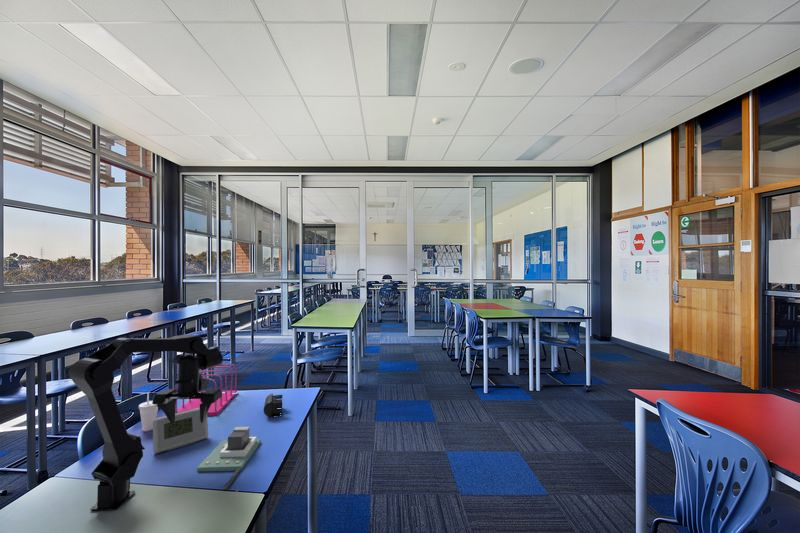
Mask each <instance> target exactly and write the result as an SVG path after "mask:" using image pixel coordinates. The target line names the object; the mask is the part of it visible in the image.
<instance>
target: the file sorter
mask: <svg viewBox="0 0 800 533" xmlns="http://www.w3.org/2000/svg"><path fill="white" fill-rule="evenodd" d="M231 366H233V367H234V369H235V371H234V370H233V369H232V367H231ZM218 368H219V369H218ZM221 368H222V369H221ZM225 368H227V369H229V370H230V390H228V383H227V382H228V379H227V378H228V377H227V373H226V371H224V369H225ZM211 369H212V370H201V369H199V374H201V375H202V379H204V377H218V378H219V380H220V389H221V391H222V392H225V393H222V397H221V398H219V399H218V400H217V401H215V402H214V403H212V404H211V406H210V408H209V410H208V413H207V417H212V416H213V417H215V416H218V415H219V414H220V413H221V412H222V411H223V410H224V409H225V408H226V407H227V406H228V405H229V404H230V403H231V401H232V400H233V399H234V398H235V397H236V396H237V395H236V394H232V393H236V392H237V391H238V390H237V381H238V380H237V376H238V375H237V374H238V371H237V366H236V365H235V364H233V363H221V364H220V365H218V366H215V367H212V368H211ZM214 369H215V370H214ZM216 369H217V370H216ZM214 372H215V373H216V372H222V373H223V374H224V383H225V385H224V387H225V388H224V390H223V379H222V376H221V375H219V374H215V373H214ZM233 372H235V374H234V375H235V377H234V376H233ZM204 373H214V374H204ZM233 377H234V378H235V380H234V390H233ZM208 379H209V381H212V382H213V383H214V389H218V387H217V382H216V380H214V379H213V378H208ZM174 389H176V391H177V392H178V384H175V385H174ZM203 390H204V389H203ZM203 390H201V391H200V392H204V391H203ZM238 392H239V391H238ZM235 395H236V396H235ZM234 396H235V397H234ZM233 397H234V398H233ZM232 398H233V399H232ZM231 399H232V400H231ZM181 400H182V404H181V405H182V406H181V407H179V408H178V400H177V401H176V404H175V413H178V412H183V411H187V410H191V409H197V408H200V404H201V403H202V402H201V401H200V399H188V401H187V402H186V403H185V399H181ZM230 400H231V401H230ZM227 404H228V405H227ZM226 405H227V406H226ZM225 406H226V407H225ZM224 407H225V408H224ZM223 408H224V409H223Z"/></svg>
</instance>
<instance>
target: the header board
mask: <svg viewBox="0 0 800 533" xmlns="http://www.w3.org/2000/svg"><path fill="white" fill-rule="evenodd" d="M261 439H262V438H257V436H249V443H248V445H247V446H246V447H245V449H244V450H230V451H228V439H223V440H221V442H220V443H219V444H218V445H216V447H215V448H214V449H213V450H212V451H211V452H210V453H209V454H208V455H207V457H205V458H204V460H203V461H202V462H201V463H200V464H199V465H198V466H197V468H196V472H200V473H201V472H220V471H221V472H225V471H226V472H227V471H229V472H230V471H236V470H237V469H238V467H241V470H240V471H242V470H243V469H244V468H245V466H246V464H247V463H248V462H249V460H250V458H251V457H252V455H253V454H254V453H255V451H256V450H257V448H258V447H259V445H261V442H262V440H261Z"/></svg>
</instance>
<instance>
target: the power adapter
mask: <svg viewBox="0 0 800 533" xmlns="http://www.w3.org/2000/svg"><path fill="white" fill-rule="evenodd" d="M277 408H282V409H277ZM280 413H281V414H280ZM263 414H264V415H265V416H266V417H268V418H270V417H273V418H275V417H274V416H280V415H282V416H283V394H276V395H275V394H274V393H270V394H268V395H267V396H266V398H265V401H264V406H263ZM280 417H281V416H280Z"/></svg>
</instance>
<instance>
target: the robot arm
mask: <svg viewBox="0 0 800 533" xmlns="http://www.w3.org/2000/svg"><path fill="white" fill-rule="evenodd" d="M156 352H157V353H158V352H176V353H182V354H183V353H184V354H186V355H182V354H176V356H175V357H174V358H172V360H171V361H170V363H172V364H177V365H178V366H177V379H175V382H174V384H175V385H176V384H178V385H177V391H176V389H175V388H170V389H169V388H168V389H167V388H164V389H163V390H161V391H159V392H157V393H155V394H154V395H153V396H152V400H151V401H152V404H157V407H158V408H160V410H161V411H162V412H163V413H164V416H167V418H168V419H169V421H170V423H171V424H173V423H174V422H175V404H176V401H177V402H178V400H182V399H184V400H189V399H200V401H201V402H202V403H201V404H200V420H201V423H203V422H204V420H205V418H206V415H207V413H208V410H209V408H210V406H211V404H212V403H214V402H215V401H217V400H218V399H219V398H221V397H222V391H223V390H222V391H221V388H217V389H215V388H208V387H209V382H210V380H209V379H210V378H203V379H202V373H199V371H202V370H203V371H206V370H208V369H213V368H212V367H218V365H220V364H223V360H224V356H223V354H222V352H221V350H219V346H211V347H207V345H206V344H205V343H204V339H203V338H202V336H199V335H194V334H193V335H192V334H180V335H174V336H171V337H167V338H166V337H165V338H164V337H163V338H162V337H160V338H158V337H157V338H154V337H152V338H150V337H149V338H147V337H144V338H143V337H141V338H140V337H139V338H138V337H137V338H134V337H133V338H128V337H118V338H117V339H114V340H113V341H111V342H110V343H108V344H107V345H105V346H103V347H101V348H99V349H97V350H96V351H93V352H92V353H90V354H89V355H88V356H86V357H84V358H82V359H78V360H77V361H76V362H74V363H73V364H72V365H71V367H70V368H69V369H68V376H69V378H70V380H71V381H72V382H73V383H74V385H75V386H76V387H77V388H78V389H79V390H80V391H81V392H82V393H83V394H84V395H85V396H86V397H87V400H88V402H89V405H90V408H91V410H92V413H93V415H94V419H95V420H96V423H97V426H98V428H99V431H100V433H101V436H102V439H103V441H104V445H103V447H102V452H101V453H102V459H101V460H100V462H99V463H98V464H97V466H96V467H95V468H94V470H92V471H91V473H90V474H91V476H92V478H93V479H94V480H95V481H96V480H97V481H99V484H98V485H97V493H96V494H97V498H96V499H97V500H96V503H95V504H94V505H93V506H92V507H91V508H90V512H93V511H95V512H96V511H117V510H118V509H119V508H120V507H122V506H123V504H125V503H126V502H127V501H128V500H129V499H130V498H132V496H134V495H135V494H136V491H135V490H130V489H131V479H132V478H134V477H135V475H136V473H137V470H138V468H139V466H140V465H139V464H140V463H141V460H142V458H144V451H143V450H146V447H145V446H143V444H142V438H141V437H140V436H138V435H136V434H132V433H129V432H128V430H127V428H126V424H125V423H124V420H123V417H122V414H121V411H120V409H119V406H118V403H117V400H116V397H115V394H114V392H113V388H112V387H113V385H114V381H115V373H114V372H115V371H116V370H118V369H119V368H120V367H121V366H123V363H124V362H125V361H126V359H127V358H128V357H129V356H130V355H131V354H133V353H156ZM220 366H221V365H220ZM199 369H200V370H199ZM204 389H205V391H203V392H201V390H204Z"/></svg>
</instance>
